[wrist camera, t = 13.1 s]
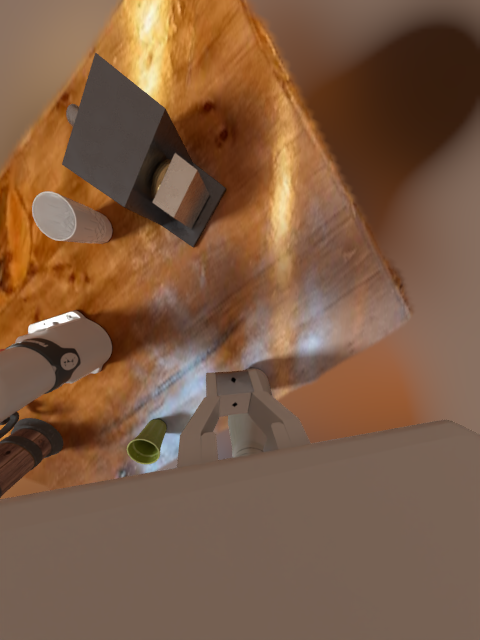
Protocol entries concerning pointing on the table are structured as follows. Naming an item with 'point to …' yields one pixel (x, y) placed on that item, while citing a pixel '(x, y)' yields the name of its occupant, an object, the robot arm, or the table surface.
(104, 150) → the bearing block
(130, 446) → the plant pot
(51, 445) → the tankard
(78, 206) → the white cup
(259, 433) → the glass bottle
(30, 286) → the table surface
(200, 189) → the shaft
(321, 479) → the robot arm
